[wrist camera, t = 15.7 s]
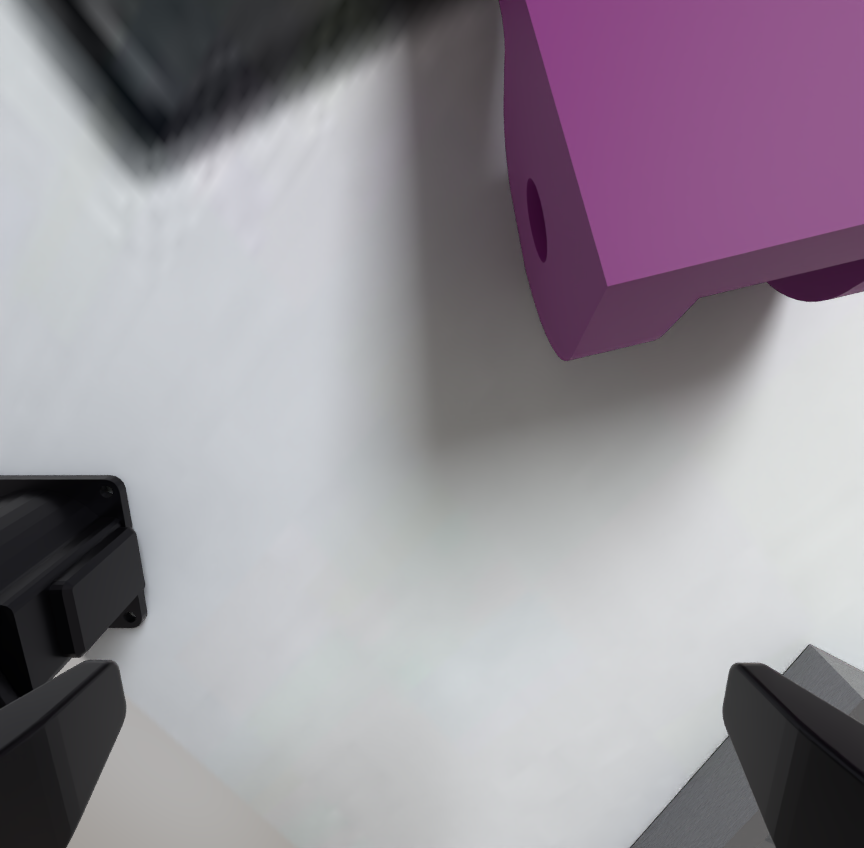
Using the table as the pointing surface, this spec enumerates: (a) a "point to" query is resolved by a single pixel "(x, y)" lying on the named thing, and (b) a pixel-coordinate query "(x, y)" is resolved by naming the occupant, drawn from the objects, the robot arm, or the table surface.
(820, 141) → the mounting bracket
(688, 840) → the socket block
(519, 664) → the table surface
